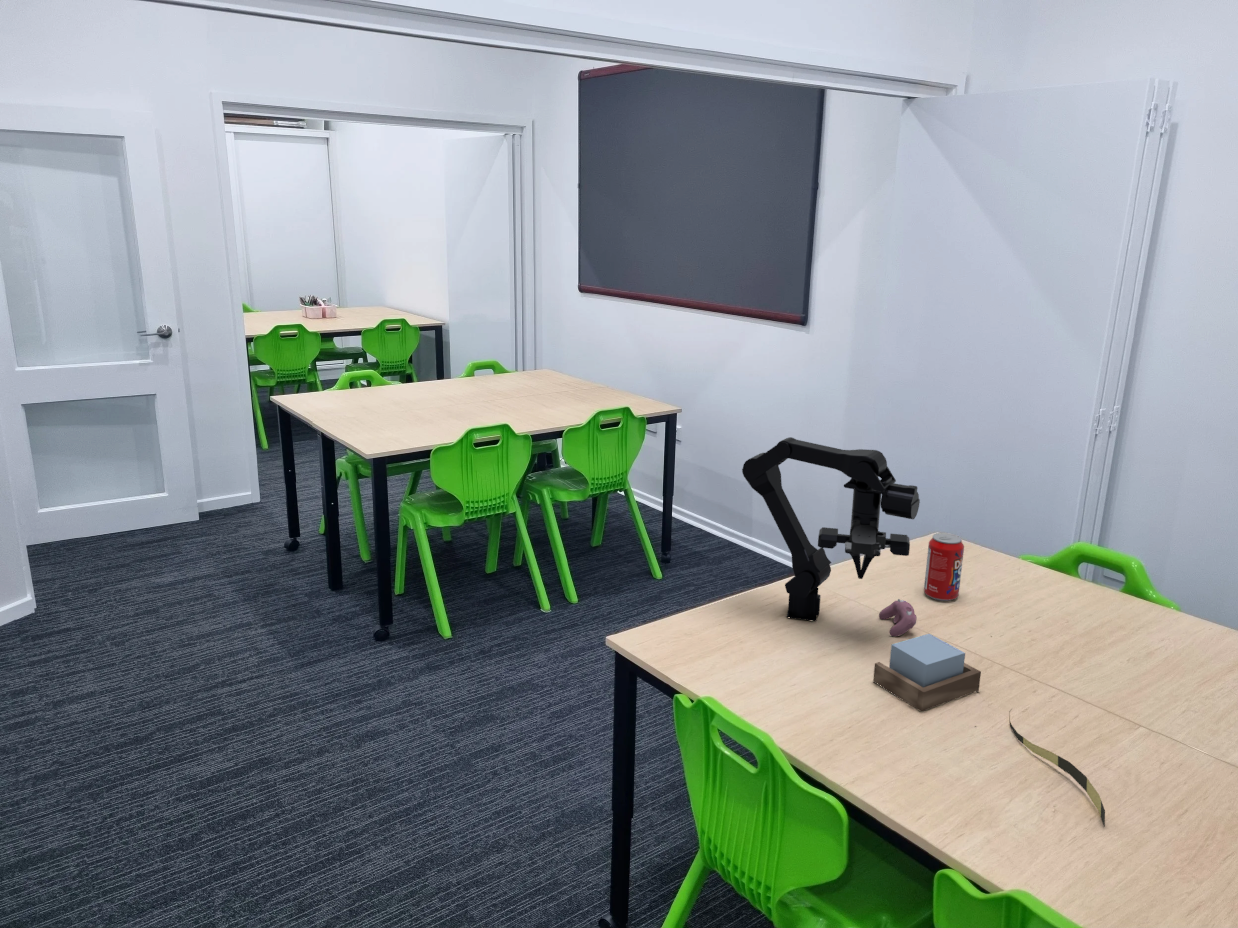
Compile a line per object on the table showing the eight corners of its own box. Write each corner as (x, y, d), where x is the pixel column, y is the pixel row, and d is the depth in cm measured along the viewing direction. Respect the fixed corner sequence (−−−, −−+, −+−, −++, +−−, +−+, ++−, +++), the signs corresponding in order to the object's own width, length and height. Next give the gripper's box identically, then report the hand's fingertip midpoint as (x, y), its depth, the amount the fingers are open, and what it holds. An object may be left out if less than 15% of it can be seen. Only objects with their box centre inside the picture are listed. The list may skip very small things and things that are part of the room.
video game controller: (906, 644, 191) (924, 617, 189) (888, 635, 190) (905, 609, 189) (893, 623, 201) (909, 598, 199) (876, 615, 200) (892, 590, 198)
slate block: (888, 681, 173) (891, 644, 171) (925, 669, 178) (929, 633, 175) (922, 703, 166) (926, 664, 163) (960, 690, 170) (965, 652, 168)
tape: (1067, 830, 133) (1070, 809, 132) (989, 696, 169) (990, 678, 168) (1109, 832, 132) (1112, 810, 131) (1021, 696, 168) (1023, 679, 167)
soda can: (916, 591, 213) (922, 533, 209) (944, 587, 216) (950, 529, 212) (936, 604, 206) (943, 544, 202) (965, 600, 209) (972, 541, 204)
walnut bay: (873, 681, 173) (874, 663, 172) (929, 662, 180) (930, 644, 179) (921, 711, 163) (923, 692, 161) (978, 690, 170) (981, 671, 169)
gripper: (818, 518, 182) (813, 588, 186) (913, 526, 177) (906, 598, 181) (821, 501, 192) (817, 568, 197) (911, 509, 187) (905, 577, 192)
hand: (860, 578), depth 191 cm, fingers closed
